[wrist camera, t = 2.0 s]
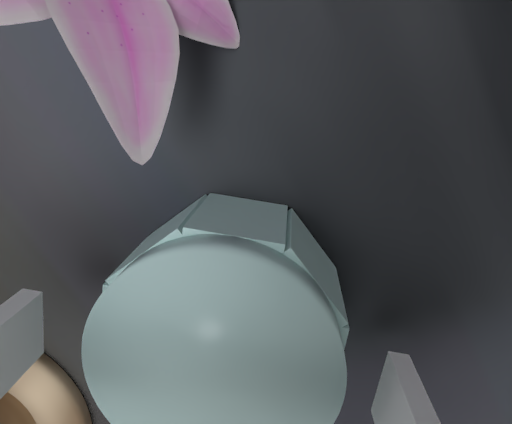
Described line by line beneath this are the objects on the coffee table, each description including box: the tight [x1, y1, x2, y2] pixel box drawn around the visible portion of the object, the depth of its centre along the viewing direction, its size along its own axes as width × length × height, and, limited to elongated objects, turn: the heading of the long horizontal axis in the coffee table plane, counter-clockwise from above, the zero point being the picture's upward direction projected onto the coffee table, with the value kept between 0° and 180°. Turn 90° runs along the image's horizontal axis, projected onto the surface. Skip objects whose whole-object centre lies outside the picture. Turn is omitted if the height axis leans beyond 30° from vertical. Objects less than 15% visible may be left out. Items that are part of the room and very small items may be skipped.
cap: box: [81, 193, 349, 424], centre depth 16 cm, size 9×9×6 cm
